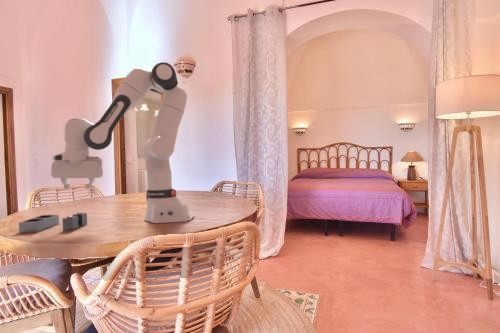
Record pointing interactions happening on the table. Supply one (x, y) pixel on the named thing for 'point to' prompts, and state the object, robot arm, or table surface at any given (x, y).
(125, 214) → the table surface
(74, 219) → the dark grey block
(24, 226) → the grey holder block
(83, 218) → the nut
